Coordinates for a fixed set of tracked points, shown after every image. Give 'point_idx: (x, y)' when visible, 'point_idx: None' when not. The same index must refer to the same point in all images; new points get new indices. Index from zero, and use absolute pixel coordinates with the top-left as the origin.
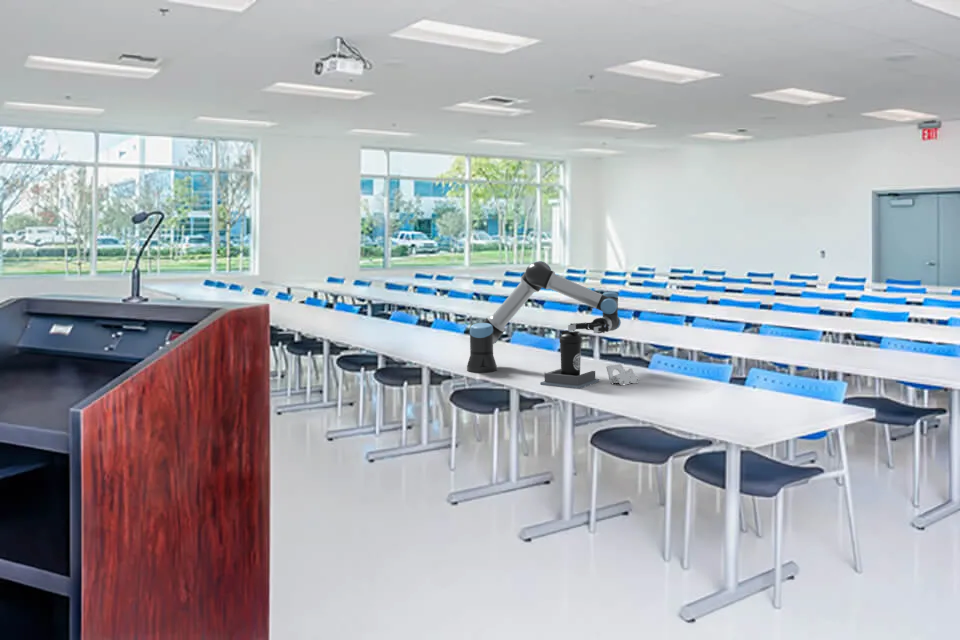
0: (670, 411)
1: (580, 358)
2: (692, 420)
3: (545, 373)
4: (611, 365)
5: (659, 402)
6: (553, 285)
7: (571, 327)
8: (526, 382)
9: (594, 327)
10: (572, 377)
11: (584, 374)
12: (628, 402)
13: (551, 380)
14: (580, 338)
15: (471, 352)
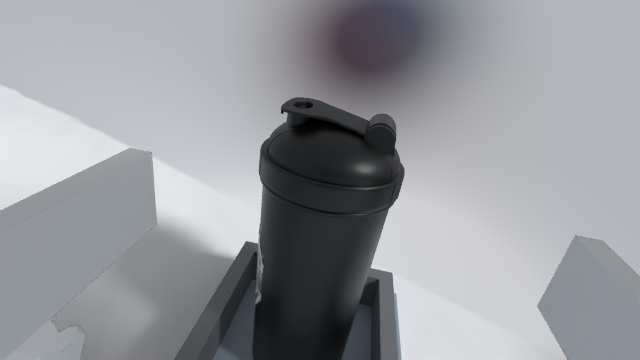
0: (29, 136)
1: (258, 262)
2: (20, 113)
3: (389, 272)
4: (35, 345)
5: (9, 172)
6: None
7: (595, 319)
8: (462, 323)
9: (140, 151)
10: None
11: (225, 279)
12: None
13: None
14: (266, 144)
15: None
